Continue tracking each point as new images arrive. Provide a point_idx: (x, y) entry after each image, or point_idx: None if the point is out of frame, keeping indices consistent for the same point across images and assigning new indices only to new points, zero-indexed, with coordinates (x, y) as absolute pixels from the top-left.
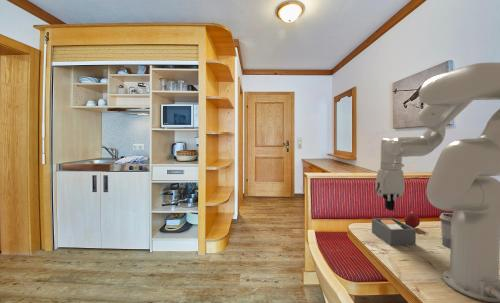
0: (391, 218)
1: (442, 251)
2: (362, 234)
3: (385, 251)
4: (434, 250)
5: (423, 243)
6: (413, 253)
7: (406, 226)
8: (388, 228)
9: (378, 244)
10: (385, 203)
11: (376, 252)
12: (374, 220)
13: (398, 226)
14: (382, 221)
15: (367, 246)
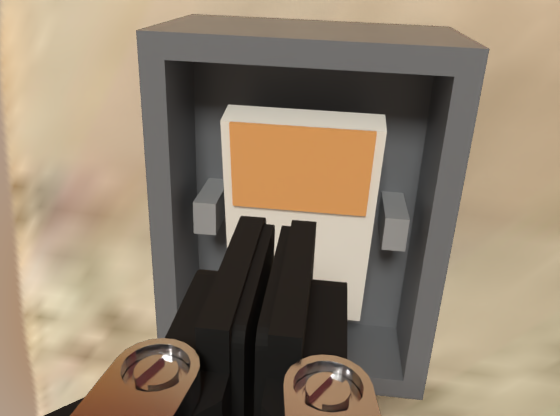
0: (439, 60)
1: (506, 406)
2: (70, 54)
3: (112, 343)
4: (464, 388)
5: (496, 295)
6: None
7: (414, 305)
8: (162, 336)
9: (118, 254)
10: (181, 316)
11: (47, 343)
12: (141, 95)
13: (349, 258)
14: (225, 148)
15: (21, 268)
